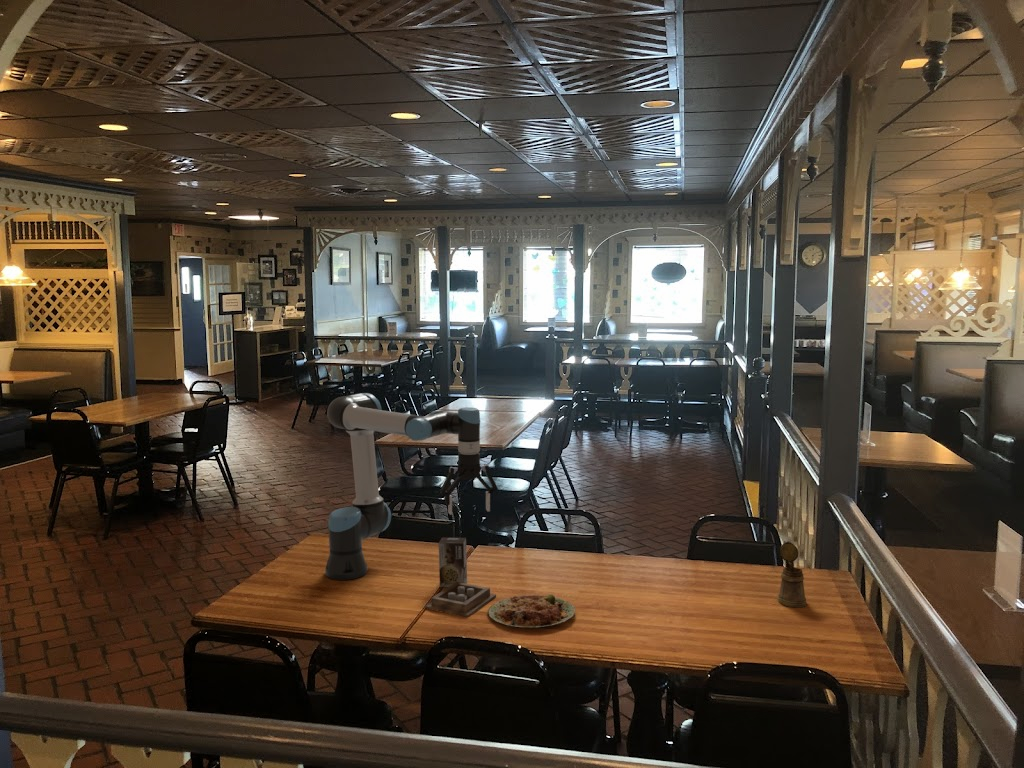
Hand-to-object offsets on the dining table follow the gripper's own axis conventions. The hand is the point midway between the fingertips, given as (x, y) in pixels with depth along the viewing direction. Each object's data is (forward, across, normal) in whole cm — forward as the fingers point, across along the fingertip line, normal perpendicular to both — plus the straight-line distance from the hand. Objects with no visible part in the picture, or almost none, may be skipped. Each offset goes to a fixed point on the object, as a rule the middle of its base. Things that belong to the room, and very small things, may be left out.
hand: (469, 512), depth 276 cm
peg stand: (+26, -7, -16) cm, 31 cm away
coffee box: (+26, -6, +1) cm, 27 cm away
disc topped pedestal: (+25, +98, -48) cm, 112 cm away
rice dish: (+26, +12, -32) cm, 43 cm away
